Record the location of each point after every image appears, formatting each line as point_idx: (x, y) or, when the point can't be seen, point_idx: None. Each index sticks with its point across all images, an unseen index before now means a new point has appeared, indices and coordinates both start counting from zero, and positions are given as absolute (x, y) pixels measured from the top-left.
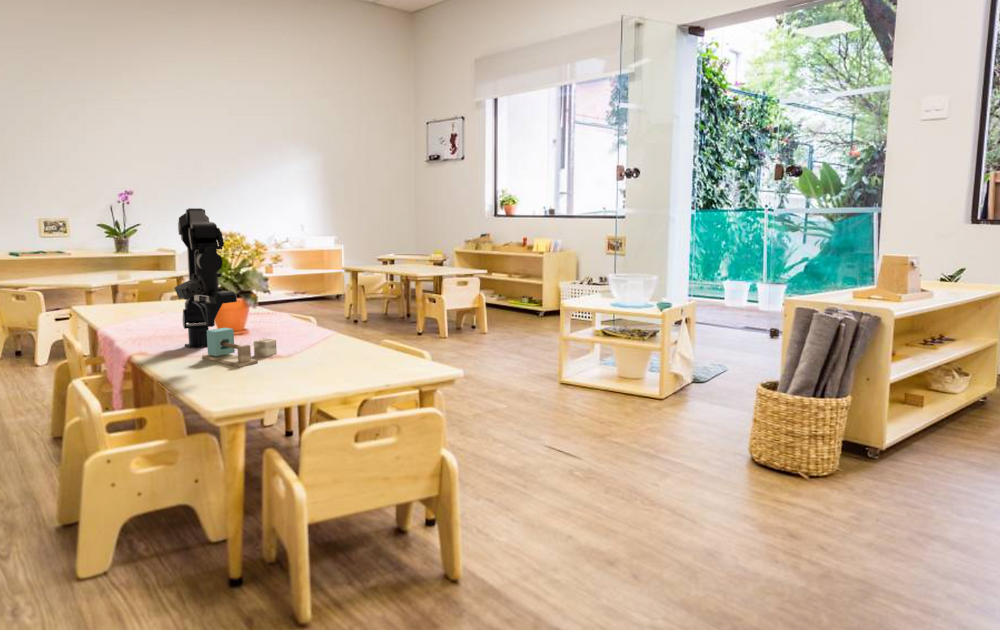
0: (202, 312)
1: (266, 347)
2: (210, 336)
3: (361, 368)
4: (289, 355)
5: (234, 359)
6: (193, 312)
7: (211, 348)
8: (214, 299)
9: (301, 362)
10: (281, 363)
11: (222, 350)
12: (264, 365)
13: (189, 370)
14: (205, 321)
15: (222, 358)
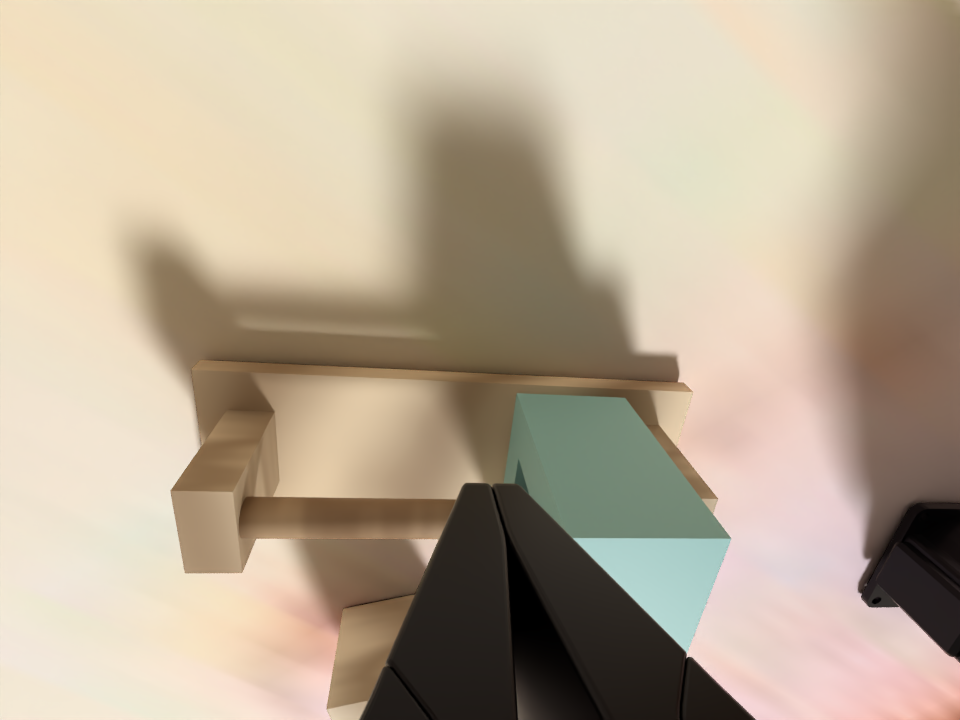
0: (694, 708)
1: (334, 671)
2: (636, 495)
3: None
4: (288, 692)
5: (370, 439)
6: None
7: (588, 424)
8: None
9: (51, 649)
10: (115, 577)
11: (515, 465)
12: (140, 493)
13: (441, 58)
14: (550, 524)
15: (473, 410)
